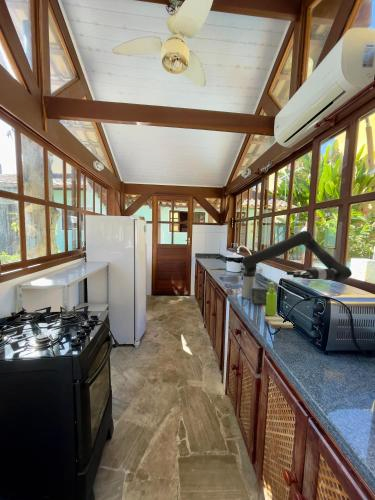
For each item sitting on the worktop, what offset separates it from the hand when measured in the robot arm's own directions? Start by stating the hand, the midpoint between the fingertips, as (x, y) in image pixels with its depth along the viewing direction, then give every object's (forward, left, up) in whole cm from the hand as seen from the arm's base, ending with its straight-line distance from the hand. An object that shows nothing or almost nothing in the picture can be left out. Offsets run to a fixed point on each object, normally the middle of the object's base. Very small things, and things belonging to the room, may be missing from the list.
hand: (290, 274), depth 139 cm
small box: (-23, +7, -25) cm, 35 cm away
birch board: (+2, -20, -25) cm, 32 cm away
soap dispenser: (-8, -8, -25) cm, 28 cm away
